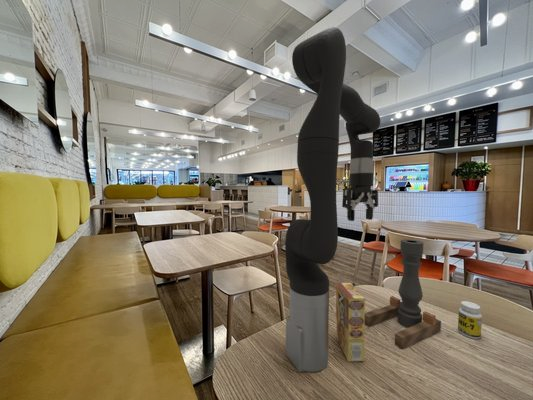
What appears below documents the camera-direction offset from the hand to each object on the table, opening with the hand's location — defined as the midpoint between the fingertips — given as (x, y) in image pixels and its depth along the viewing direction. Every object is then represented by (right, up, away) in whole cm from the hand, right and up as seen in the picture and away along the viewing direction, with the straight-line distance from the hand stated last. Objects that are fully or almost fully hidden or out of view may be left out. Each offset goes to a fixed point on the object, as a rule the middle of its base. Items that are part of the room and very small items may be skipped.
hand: (360, 220), depth 75 cm
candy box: (-11, -31, -19) cm, 38 cm away
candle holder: (+11, -31, -9) cm, 34 cm away
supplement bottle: (+25, -31, -14) cm, 42 cm away
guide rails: (+7, -31, -11) cm, 33 cm away
